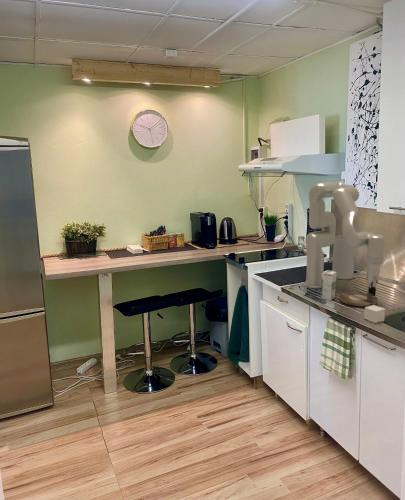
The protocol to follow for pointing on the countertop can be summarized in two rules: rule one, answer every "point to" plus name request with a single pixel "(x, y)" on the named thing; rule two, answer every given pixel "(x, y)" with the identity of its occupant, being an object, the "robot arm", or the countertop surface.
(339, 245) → the cylinder vase
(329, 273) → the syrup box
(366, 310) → the white cube
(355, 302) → the turntable
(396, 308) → the countertop surface
